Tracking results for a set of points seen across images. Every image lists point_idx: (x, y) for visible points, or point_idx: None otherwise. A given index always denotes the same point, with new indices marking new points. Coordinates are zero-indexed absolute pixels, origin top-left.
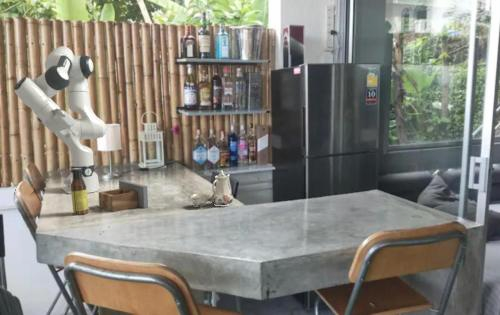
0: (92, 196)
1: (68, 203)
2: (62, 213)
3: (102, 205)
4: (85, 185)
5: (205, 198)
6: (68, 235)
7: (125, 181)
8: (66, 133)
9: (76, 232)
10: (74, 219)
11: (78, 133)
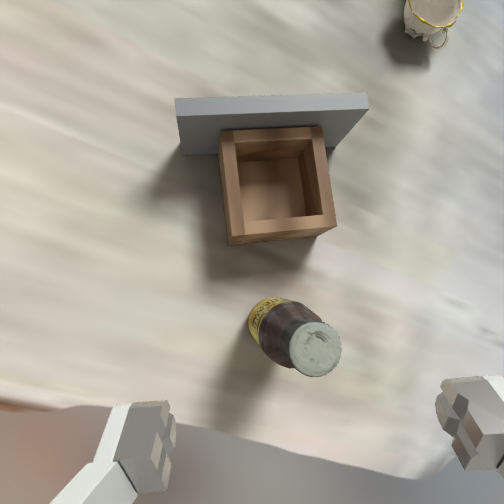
0: (29, 199)
1: (87, 312)
2: (228, 371)
3: (251, 241)
4: (301, 306)
5: (456, 2)
6: None
7: (216, 104)
8: (118, 473)
9: None
10: None
11: (493, 378)
